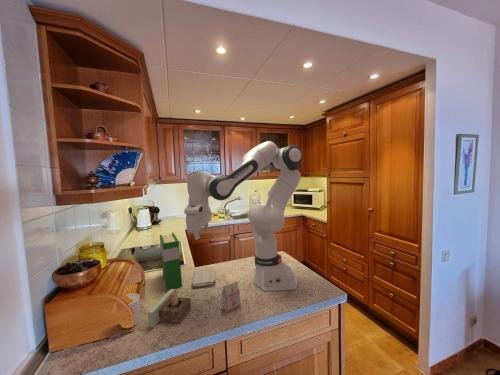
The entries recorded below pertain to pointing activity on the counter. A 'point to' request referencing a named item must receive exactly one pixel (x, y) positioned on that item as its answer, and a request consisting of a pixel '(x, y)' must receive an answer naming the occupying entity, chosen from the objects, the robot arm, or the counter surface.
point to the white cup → (135, 306)
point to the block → (175, 310)
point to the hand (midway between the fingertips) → (201, 235)
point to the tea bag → (231, 296)
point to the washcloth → (204, 278)
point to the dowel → (174, 299)
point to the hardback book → (171, 261)
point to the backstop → (157, 309)
